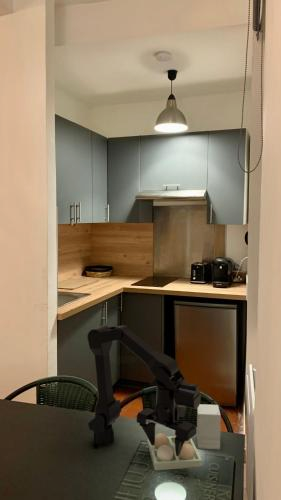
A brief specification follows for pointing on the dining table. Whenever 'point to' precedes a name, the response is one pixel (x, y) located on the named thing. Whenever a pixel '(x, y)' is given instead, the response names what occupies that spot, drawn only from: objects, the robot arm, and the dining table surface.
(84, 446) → the dining table surface
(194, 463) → the egg tray
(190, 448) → the brown egg front right
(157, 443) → the brown egg back left
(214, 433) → the supplement box
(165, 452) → the white egg
